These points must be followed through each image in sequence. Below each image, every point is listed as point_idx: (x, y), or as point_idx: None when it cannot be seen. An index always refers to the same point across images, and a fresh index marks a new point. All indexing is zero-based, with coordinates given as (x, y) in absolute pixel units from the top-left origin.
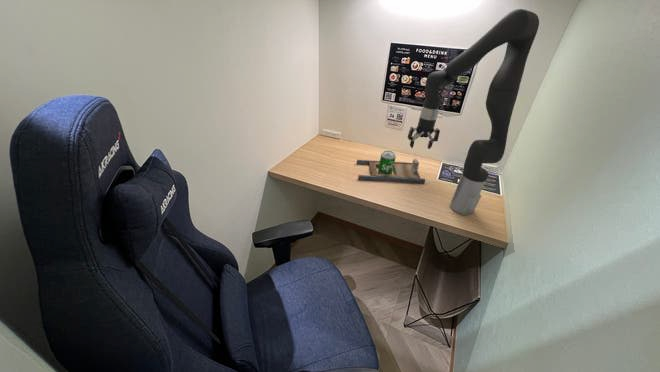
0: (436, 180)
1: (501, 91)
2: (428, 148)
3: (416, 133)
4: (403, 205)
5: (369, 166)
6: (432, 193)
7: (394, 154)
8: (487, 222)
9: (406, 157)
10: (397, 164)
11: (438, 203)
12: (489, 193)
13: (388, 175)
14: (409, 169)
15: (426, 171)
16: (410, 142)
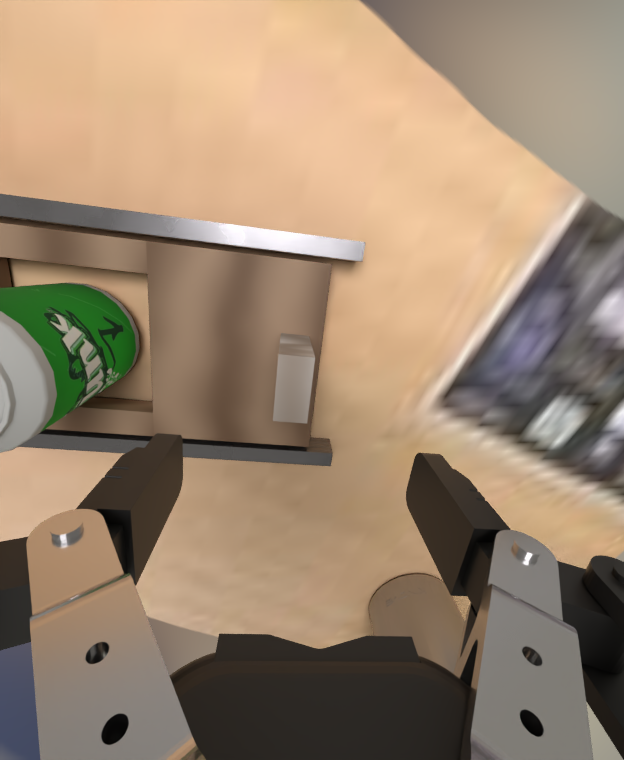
0: (416, 416)
1: None
2: (407, 501)
3: (69, 701)
4: (166, 600)
5: None
6: (335, 523)
7: (12, 409)
8: None
9: (331, 50)
10: (184, 263)
11: (330, 583)
12: (614, 514)
13: (92, 421)
14: (266, 342)
15: (405, 313)
16: (97, 497)
